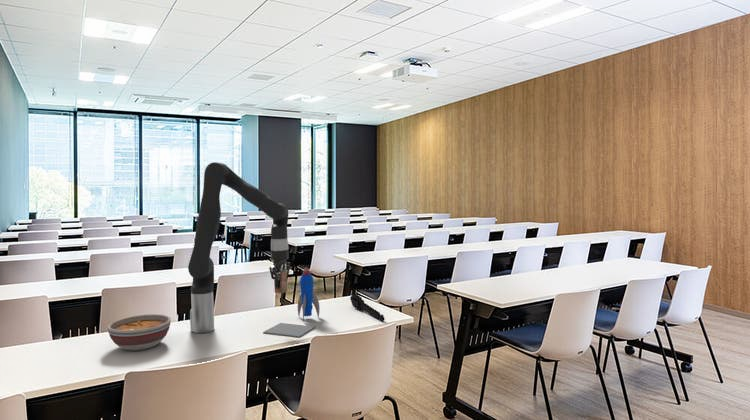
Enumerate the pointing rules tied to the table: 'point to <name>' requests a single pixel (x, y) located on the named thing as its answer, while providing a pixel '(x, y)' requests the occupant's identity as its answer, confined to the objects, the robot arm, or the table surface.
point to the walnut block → (282, 282)
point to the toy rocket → (307, 295)
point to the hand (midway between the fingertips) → (280, 286)
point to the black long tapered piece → (365, 307)
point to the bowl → (139, 331)
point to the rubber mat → (289, 330)
